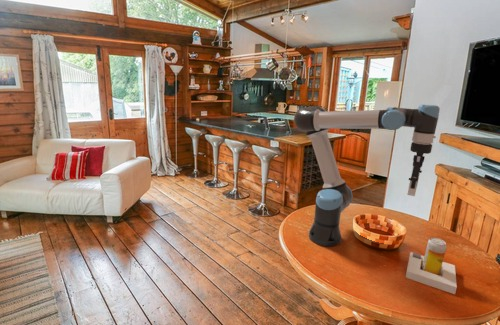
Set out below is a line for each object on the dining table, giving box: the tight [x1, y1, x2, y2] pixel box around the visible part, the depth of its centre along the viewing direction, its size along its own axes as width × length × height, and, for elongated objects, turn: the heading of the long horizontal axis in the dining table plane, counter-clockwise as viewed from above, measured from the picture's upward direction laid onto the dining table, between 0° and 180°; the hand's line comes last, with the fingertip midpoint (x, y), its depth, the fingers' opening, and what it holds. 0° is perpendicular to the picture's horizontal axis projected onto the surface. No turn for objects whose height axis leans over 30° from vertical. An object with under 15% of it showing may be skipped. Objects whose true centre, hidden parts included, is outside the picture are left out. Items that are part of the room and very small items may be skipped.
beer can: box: [421, 237, 447, 276], centre depth 113 cm, size 6×6×15 cm
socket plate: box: [405, 251, 458, 295], centre depth 114 cm, size 16×16×4 cm
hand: (412, 190), depth 124 cm, fingers open, 13 cm apart
